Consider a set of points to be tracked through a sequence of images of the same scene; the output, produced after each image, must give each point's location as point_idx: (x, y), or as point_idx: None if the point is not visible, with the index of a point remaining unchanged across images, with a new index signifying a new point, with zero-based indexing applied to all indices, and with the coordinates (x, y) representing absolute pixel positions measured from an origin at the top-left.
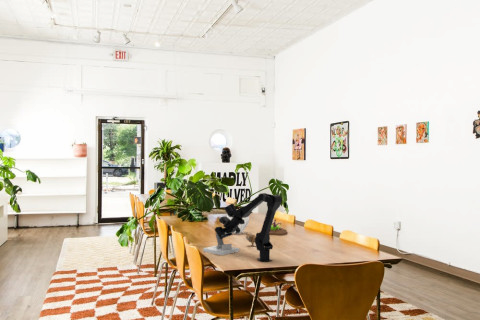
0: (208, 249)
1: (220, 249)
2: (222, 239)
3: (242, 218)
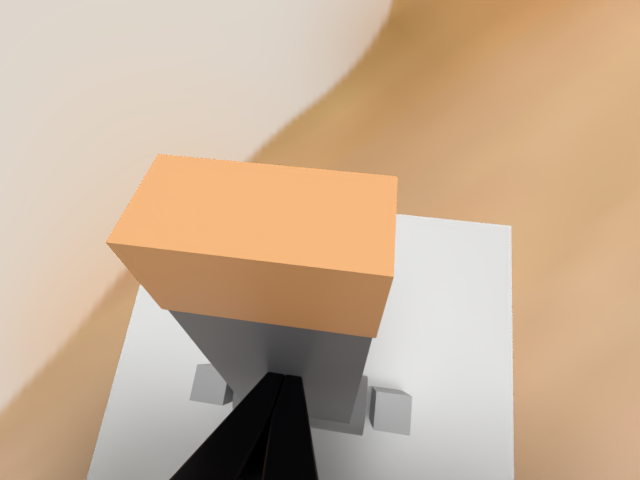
0: (140, 284)
1: None
2: (346, 399)
3: None
